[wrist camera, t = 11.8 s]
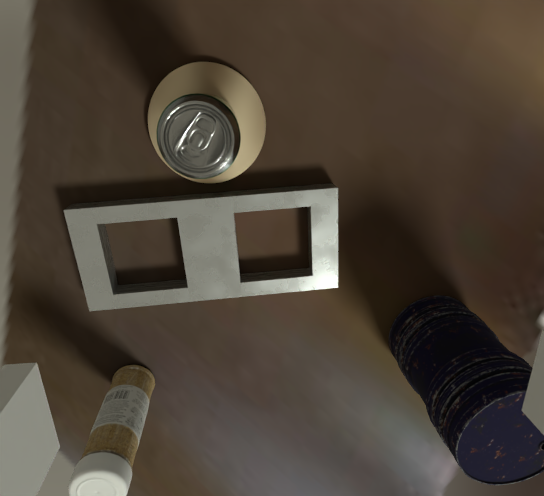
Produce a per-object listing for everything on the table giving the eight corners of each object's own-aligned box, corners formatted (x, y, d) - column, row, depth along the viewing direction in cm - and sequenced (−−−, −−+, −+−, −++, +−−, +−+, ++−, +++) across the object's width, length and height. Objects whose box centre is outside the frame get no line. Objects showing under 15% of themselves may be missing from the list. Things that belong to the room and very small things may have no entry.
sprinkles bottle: (114, 396, 45) (69, 514, 33) (111, 362, 44) (62, 473, 31) (157, 396, 46) (128, 512, 33) (155, 362, 44) (124, 471, 32)
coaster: (261, 58, 34) (261, 58, 34) (268, 177, 38) (269, 178, 37) (139, 66, 34) (137, 65, 33) (159, 186, 37) (158, 187, 37)
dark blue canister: (373, 360, 46) (433, 476, 33) (408, 285, 43) (491, 378, 29) (450, 377, 48) (537, 493, 34) (489, 306, 45) (602, 403, 31)
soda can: (168, 137, 35) (139, 158, 24) (193, 81, 34) (175, 75, 23) (221, 165, 36) (218, 197, 25) (247, 112, 35) (256, 121, 24)
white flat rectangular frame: (333, 182, 38) (338, 187, 37) (333, 278, 42) (338, 287, 40) (71, 203, 37) (63, 210, 35) (96, 301, 41) (89, 311, 39)
